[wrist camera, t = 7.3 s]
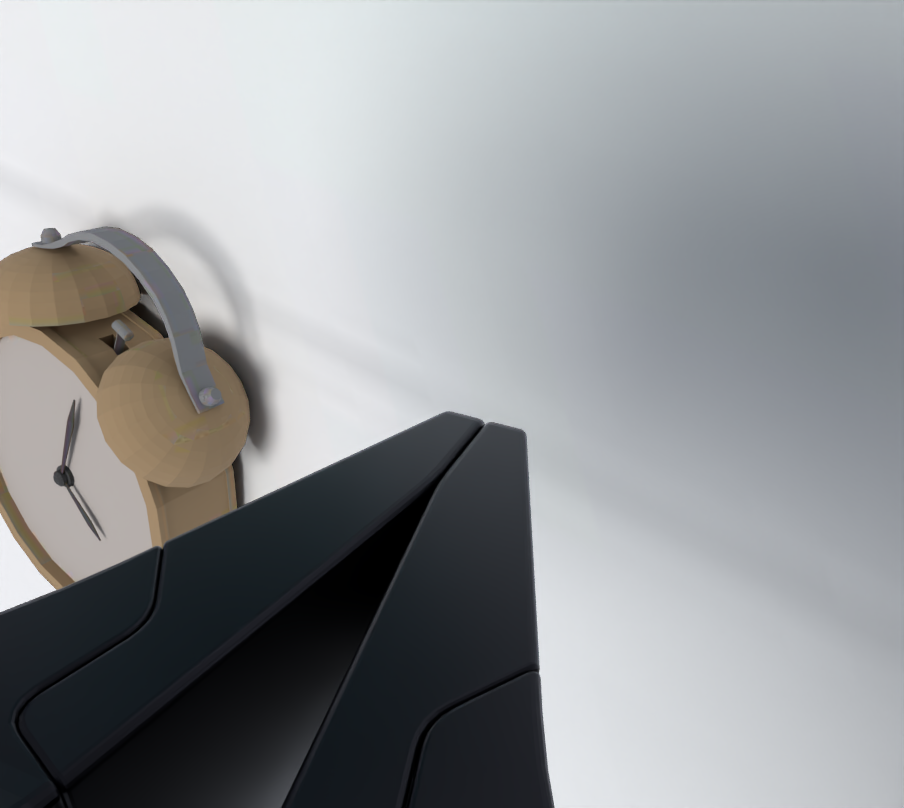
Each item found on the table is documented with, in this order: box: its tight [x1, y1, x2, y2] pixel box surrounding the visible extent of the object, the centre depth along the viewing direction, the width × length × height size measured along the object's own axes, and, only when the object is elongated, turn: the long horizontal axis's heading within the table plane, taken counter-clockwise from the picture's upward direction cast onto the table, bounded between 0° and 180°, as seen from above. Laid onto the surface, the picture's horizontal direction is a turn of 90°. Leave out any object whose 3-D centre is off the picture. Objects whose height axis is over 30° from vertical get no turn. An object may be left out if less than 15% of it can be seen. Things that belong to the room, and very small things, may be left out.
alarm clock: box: [0, 227, 250, 590], centre depth 28 cm, size 11×5×15 cm
